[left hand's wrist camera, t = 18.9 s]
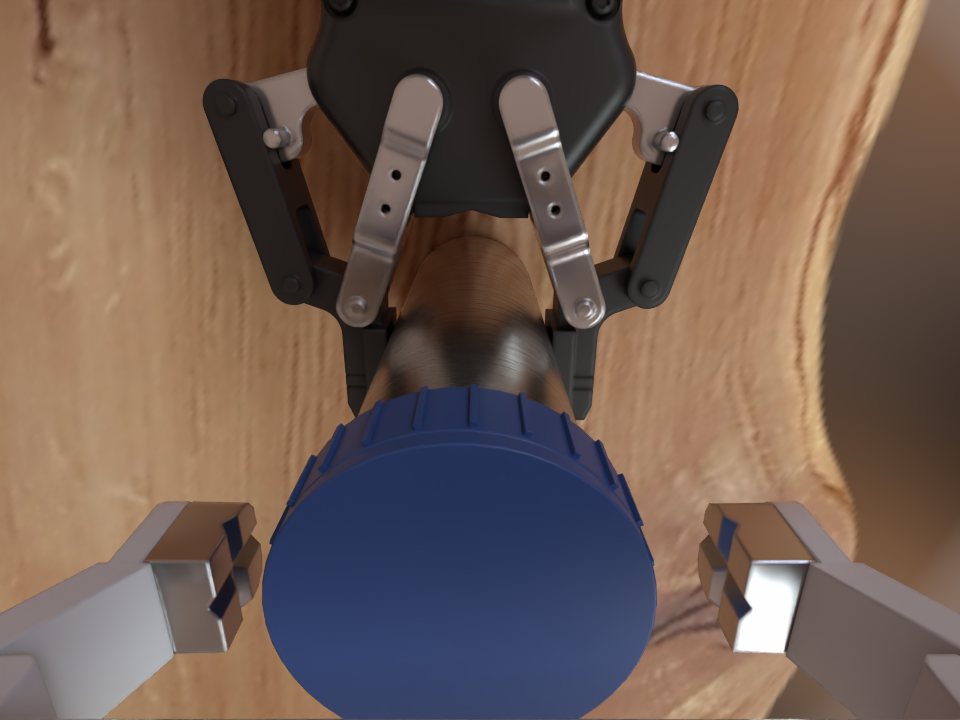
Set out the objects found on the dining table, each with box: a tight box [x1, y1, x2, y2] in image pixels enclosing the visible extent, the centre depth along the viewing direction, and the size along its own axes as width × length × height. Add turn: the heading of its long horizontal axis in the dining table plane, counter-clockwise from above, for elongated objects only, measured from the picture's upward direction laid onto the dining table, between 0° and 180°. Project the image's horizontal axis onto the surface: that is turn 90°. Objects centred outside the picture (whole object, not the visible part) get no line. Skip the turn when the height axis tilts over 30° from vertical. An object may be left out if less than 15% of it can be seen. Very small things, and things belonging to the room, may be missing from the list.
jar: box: [358, 236, 577, 425], centre depth 17 cm, size 5×5×16 cm
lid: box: [262, 384, 657, 719], centre depth 9 cm, size 6×6×2 cm
